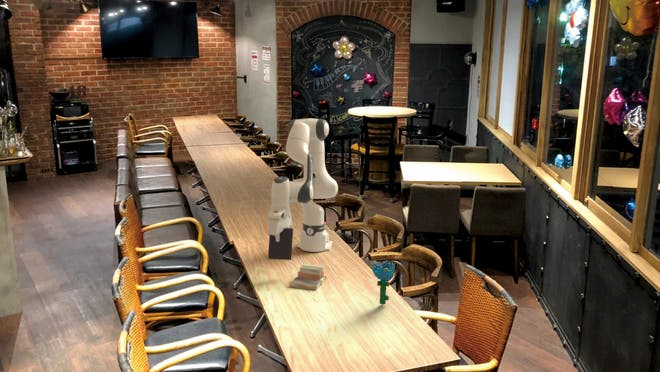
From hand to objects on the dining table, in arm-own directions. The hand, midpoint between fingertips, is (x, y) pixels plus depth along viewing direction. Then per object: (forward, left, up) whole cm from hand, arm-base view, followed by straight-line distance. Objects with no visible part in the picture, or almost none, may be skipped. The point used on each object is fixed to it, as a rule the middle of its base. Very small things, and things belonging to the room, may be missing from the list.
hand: (280, 239), depth 284 cm
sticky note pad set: (+3, +16, -19) cm, 25 cm away
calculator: (+2, 0, -9) cm, 10 cm away
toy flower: (+16, +54, -19) cm, 60 cm away
